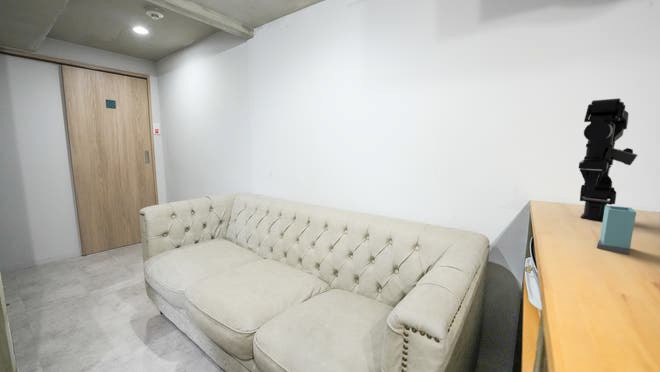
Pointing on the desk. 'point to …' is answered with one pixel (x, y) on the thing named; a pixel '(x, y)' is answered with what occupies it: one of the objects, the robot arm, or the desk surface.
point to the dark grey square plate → (613, 248)
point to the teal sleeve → (617, 226)
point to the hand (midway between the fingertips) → (593, 188)
